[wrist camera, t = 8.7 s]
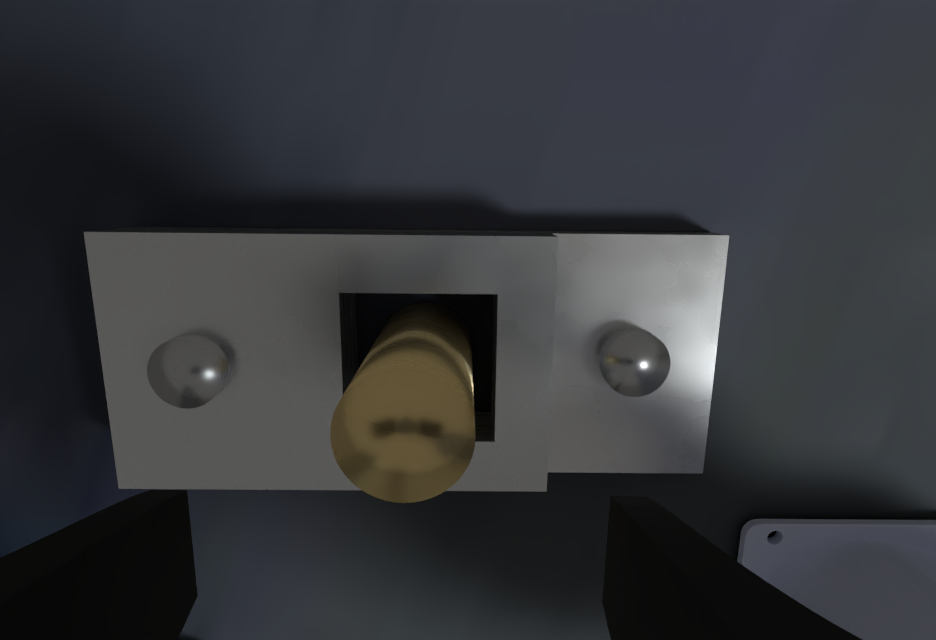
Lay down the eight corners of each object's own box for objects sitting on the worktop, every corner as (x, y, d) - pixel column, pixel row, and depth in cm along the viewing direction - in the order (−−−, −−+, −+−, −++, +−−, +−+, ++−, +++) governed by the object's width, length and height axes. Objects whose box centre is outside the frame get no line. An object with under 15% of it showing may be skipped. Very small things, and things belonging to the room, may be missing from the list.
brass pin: (472, 302, 18) (476, 368, 11) (471, 390, 19) (474, 503, 12) (378, 301, 18) (326, 367, 11) (380, 390, 19) (332, 502, 12)
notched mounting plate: (711, 232, 18) (760, 240, 15) (688, 456, 19) (727, 503, 17) (134, 226, 18) (68, 233, 15) (160, 452, 19) (106, 499, 16)
